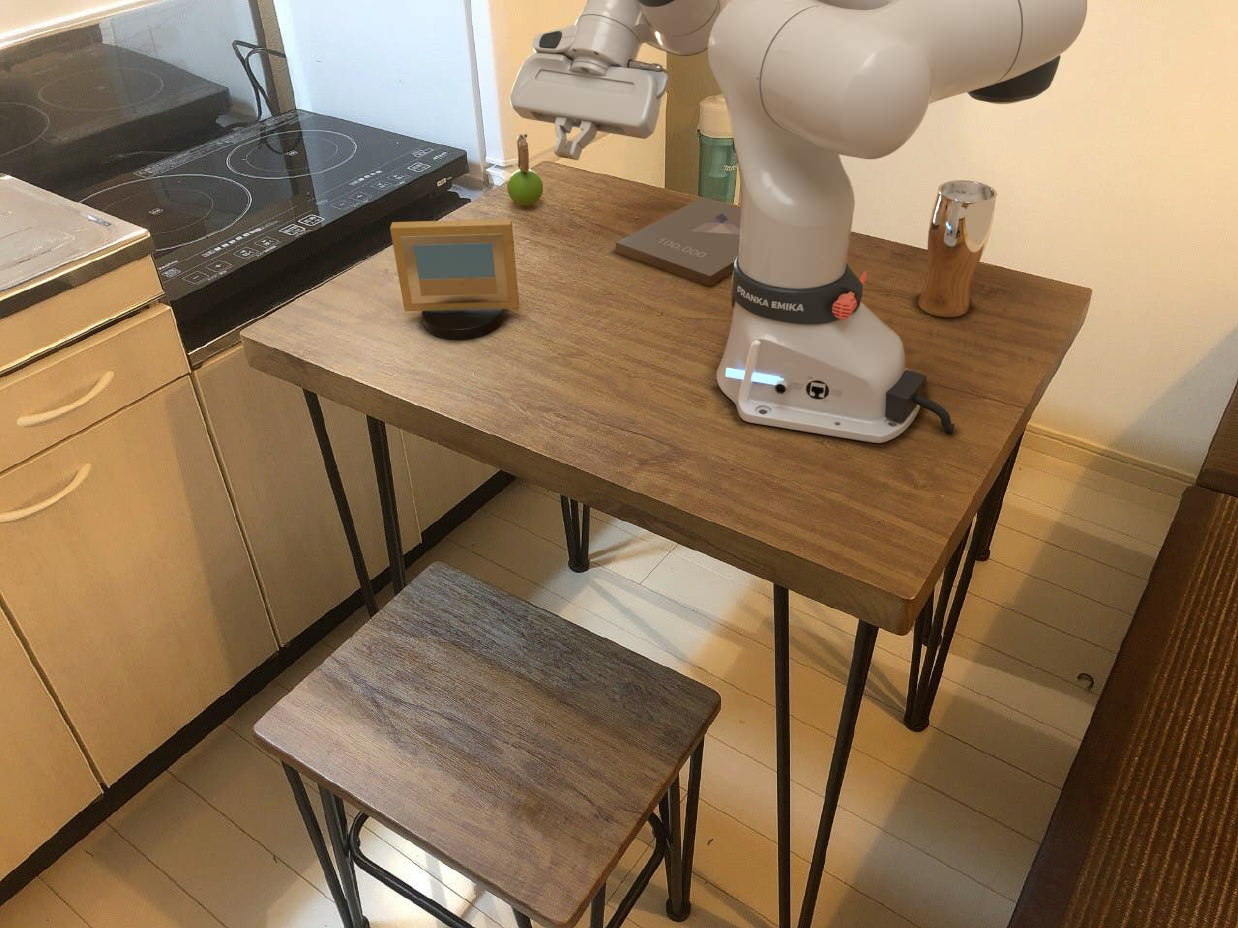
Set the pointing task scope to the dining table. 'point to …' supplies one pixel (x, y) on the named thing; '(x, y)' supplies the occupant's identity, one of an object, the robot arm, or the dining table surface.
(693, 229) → the play button award
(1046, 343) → the dining table surface
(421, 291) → the picture frame
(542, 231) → the dining table surface
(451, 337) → the frame stand
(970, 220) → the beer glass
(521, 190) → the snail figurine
